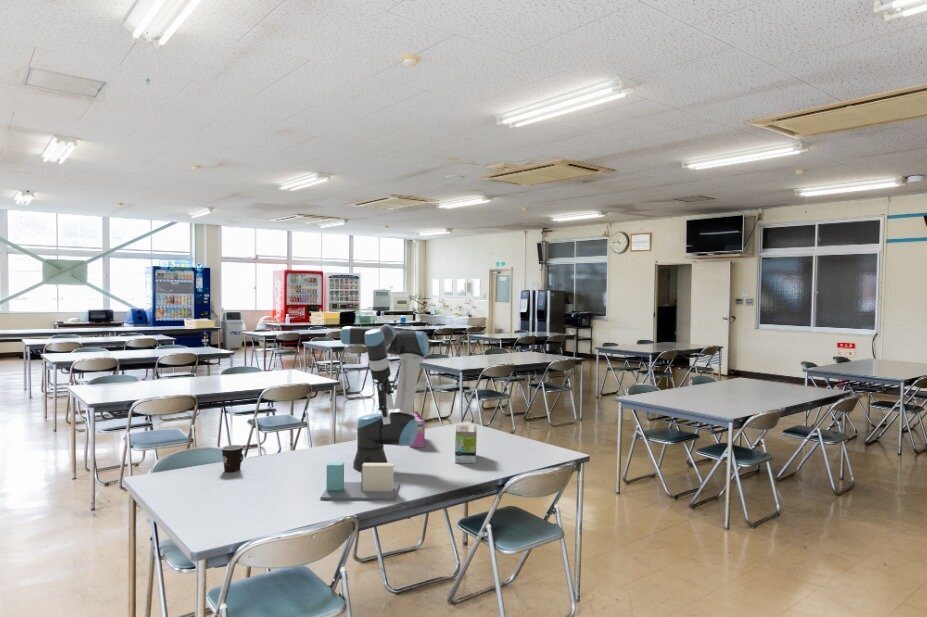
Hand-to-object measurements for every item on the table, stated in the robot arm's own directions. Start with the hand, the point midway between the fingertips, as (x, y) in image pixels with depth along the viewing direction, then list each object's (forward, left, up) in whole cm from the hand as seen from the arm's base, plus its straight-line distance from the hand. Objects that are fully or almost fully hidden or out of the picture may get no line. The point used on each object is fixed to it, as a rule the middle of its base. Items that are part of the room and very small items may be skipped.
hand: (389, 416), depth 241 cm
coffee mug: (-61, -38, -28) cm, 77 cm away
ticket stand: (0, -14, -28) cm, 31 cm away
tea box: (-4, +49, -28) cm, 57 cm away
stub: (-7, -21, -27) cm, 35 cm away
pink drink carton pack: (-45, +53, -28) cm, 75 cm away
